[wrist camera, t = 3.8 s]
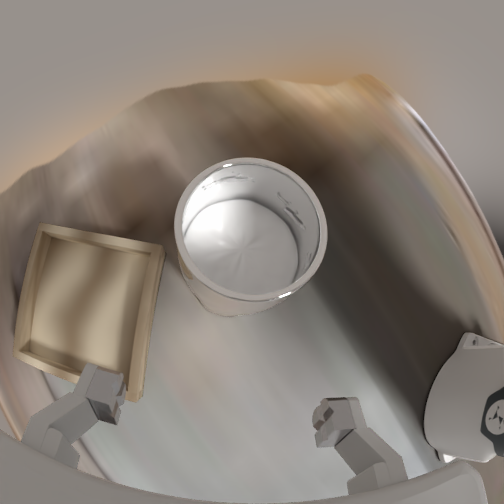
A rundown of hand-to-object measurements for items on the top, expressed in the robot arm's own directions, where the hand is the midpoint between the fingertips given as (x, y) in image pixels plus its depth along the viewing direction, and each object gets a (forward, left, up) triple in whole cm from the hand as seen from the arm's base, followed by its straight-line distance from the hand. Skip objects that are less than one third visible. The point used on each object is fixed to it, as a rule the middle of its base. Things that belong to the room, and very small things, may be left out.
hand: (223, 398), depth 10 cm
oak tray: (+13, -2, -14) cm, 20 cm away
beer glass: (0, -7, -15) cm, 16 cm away
